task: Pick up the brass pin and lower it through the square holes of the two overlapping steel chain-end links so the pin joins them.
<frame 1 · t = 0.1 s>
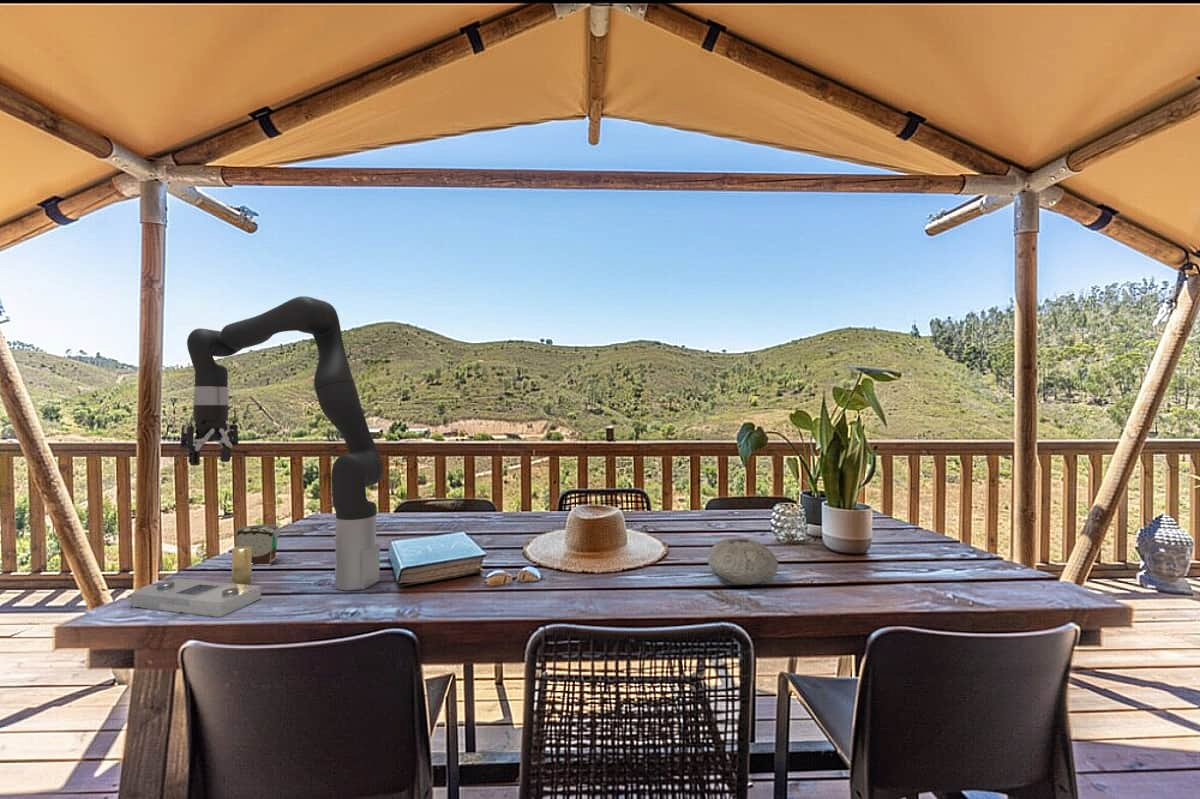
hand: (210, 463, 134), 29 cm above the table, tool pointing down, fingers open, 8 cm apart
brass pin: (241, 584, 125), on the table
food container: (262, 562, 142), on the table
chain ends: (197, 602, 113), on the table
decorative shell: (741, 580, 131), on the table
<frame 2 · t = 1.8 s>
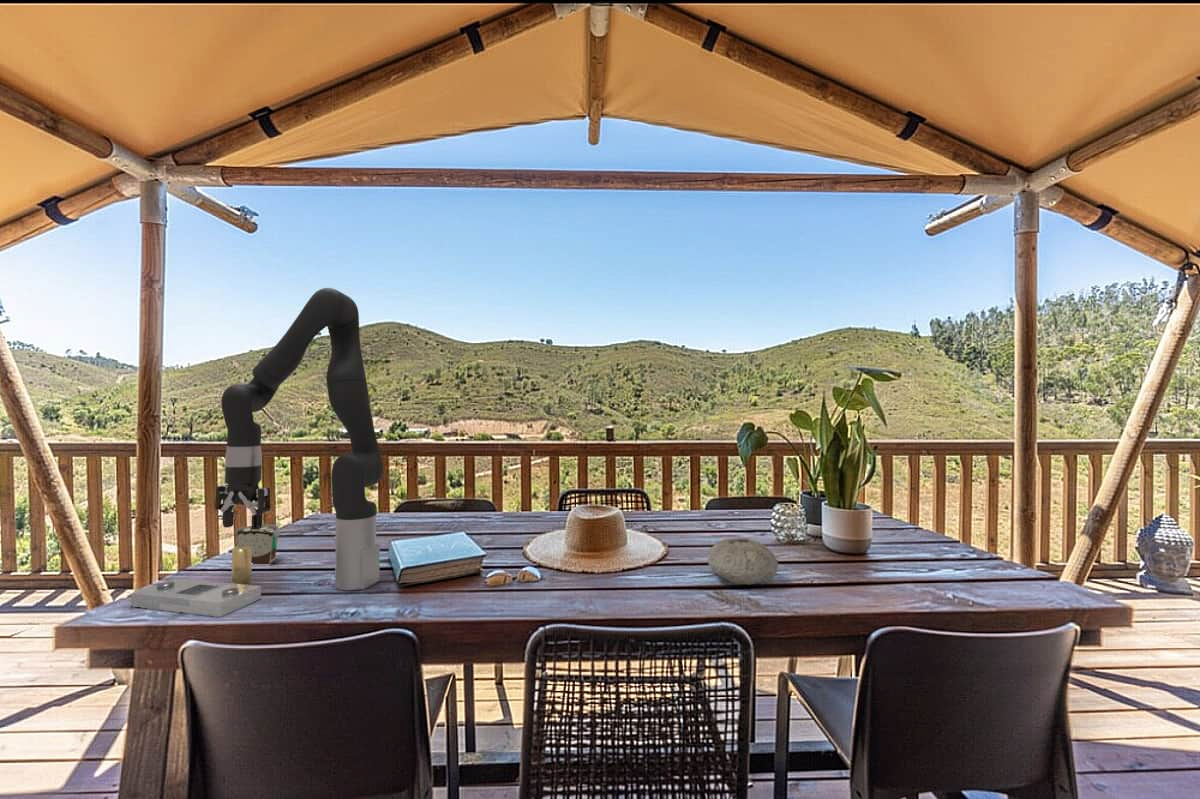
hand: (242, 528, 125), 14 cm above the table, tool pointing down, fingers open, 8 cm apart
nothing on the table moved.
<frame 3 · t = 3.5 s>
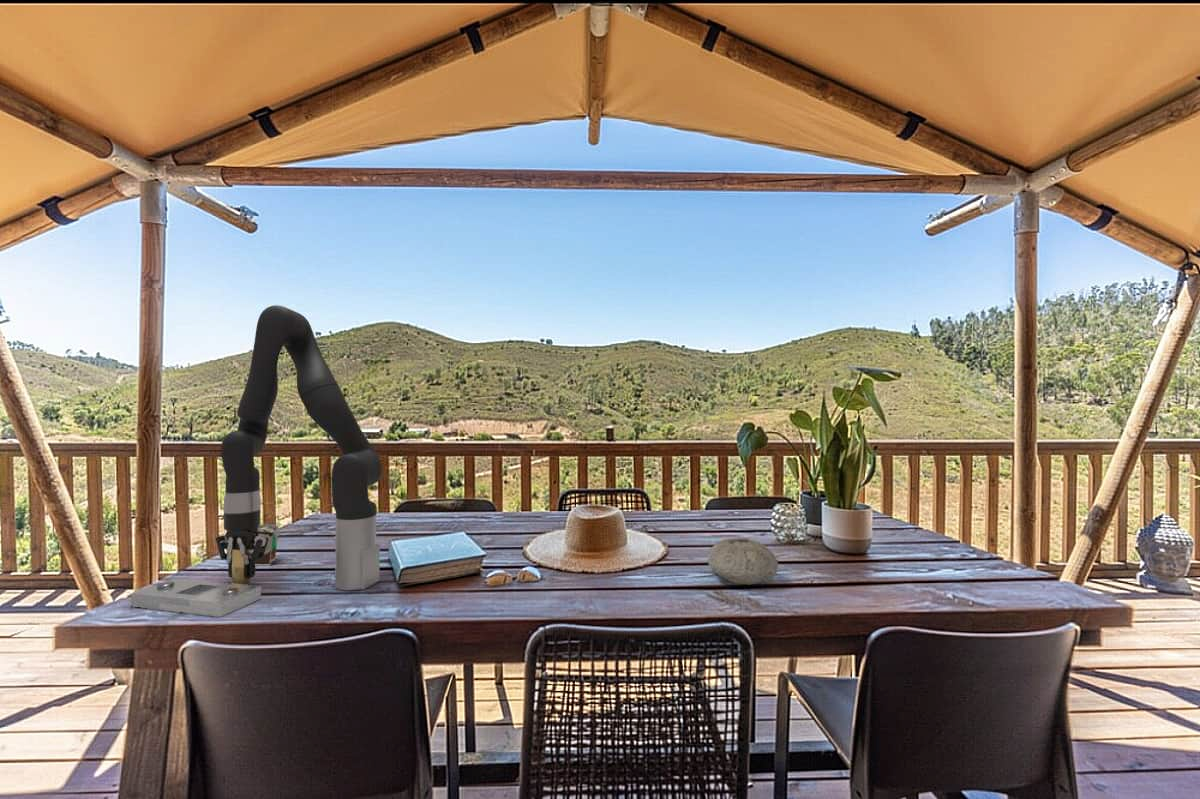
hand: (241, 576, 125), 2 cm above the table, tool pointing down, fingers closed on brass pin, 4 cm apart
brass pin: (241, 583, 125), on the table, touching gripper
everything else where it was.
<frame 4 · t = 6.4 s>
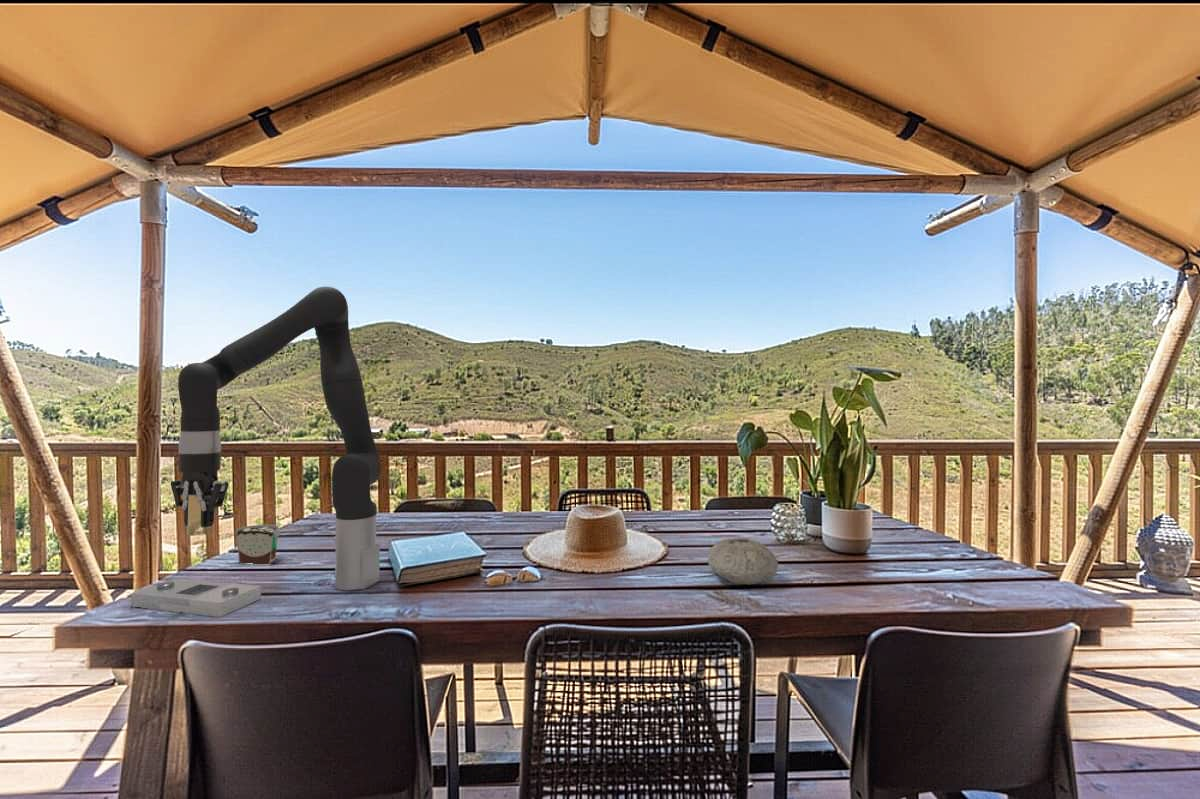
hand: (198, 525, 113), 18 cm above the table, tool pointing down, fingers closed on brass pin, 4 cm apart
brass pin: (198, 533, 113), point 16 cm above the table, touching gripper
everything else where it was.
when the fingers open (4 cm above the table, at t = 9.2 s): brass pin drops 2 cm, resting in chain ends.
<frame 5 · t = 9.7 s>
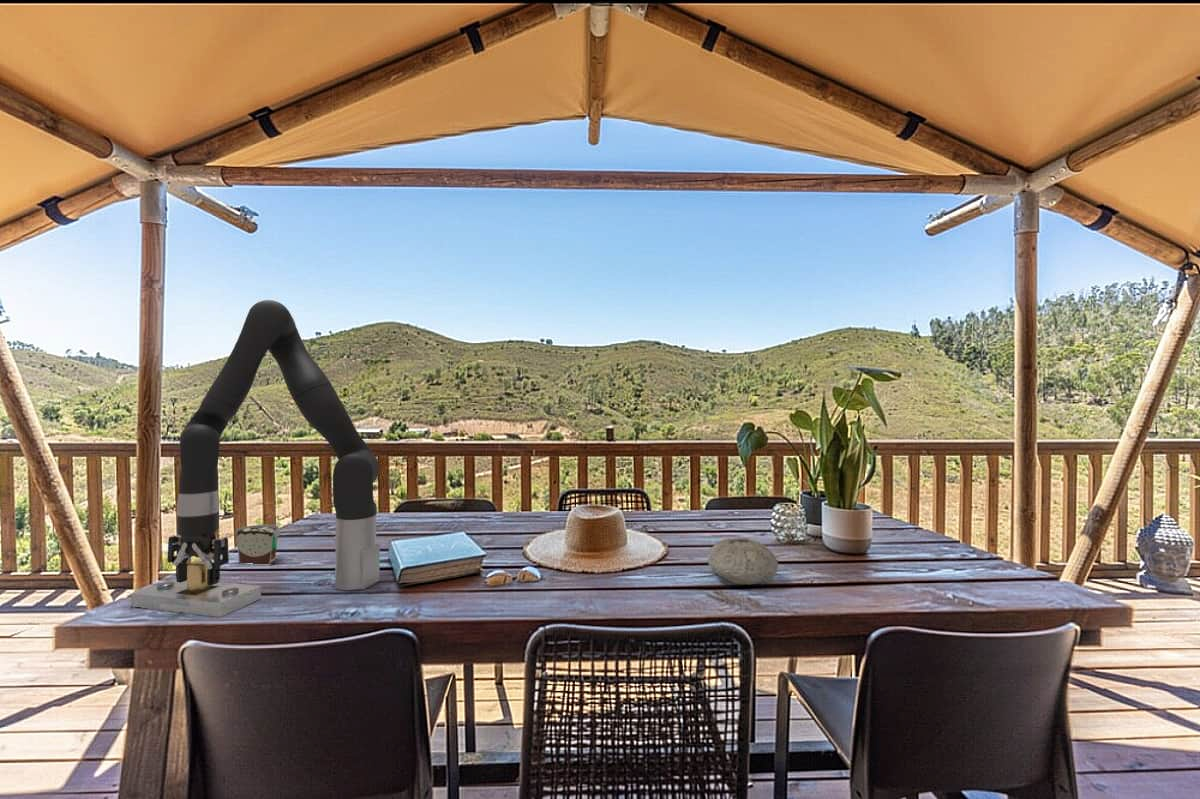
hand: (197, 582, 113), 5 cm above the table, tool pointing down, fingers open, 8 cm apart
brass pin: (197, 602, 113), resting in chain ends
everything else where it was.
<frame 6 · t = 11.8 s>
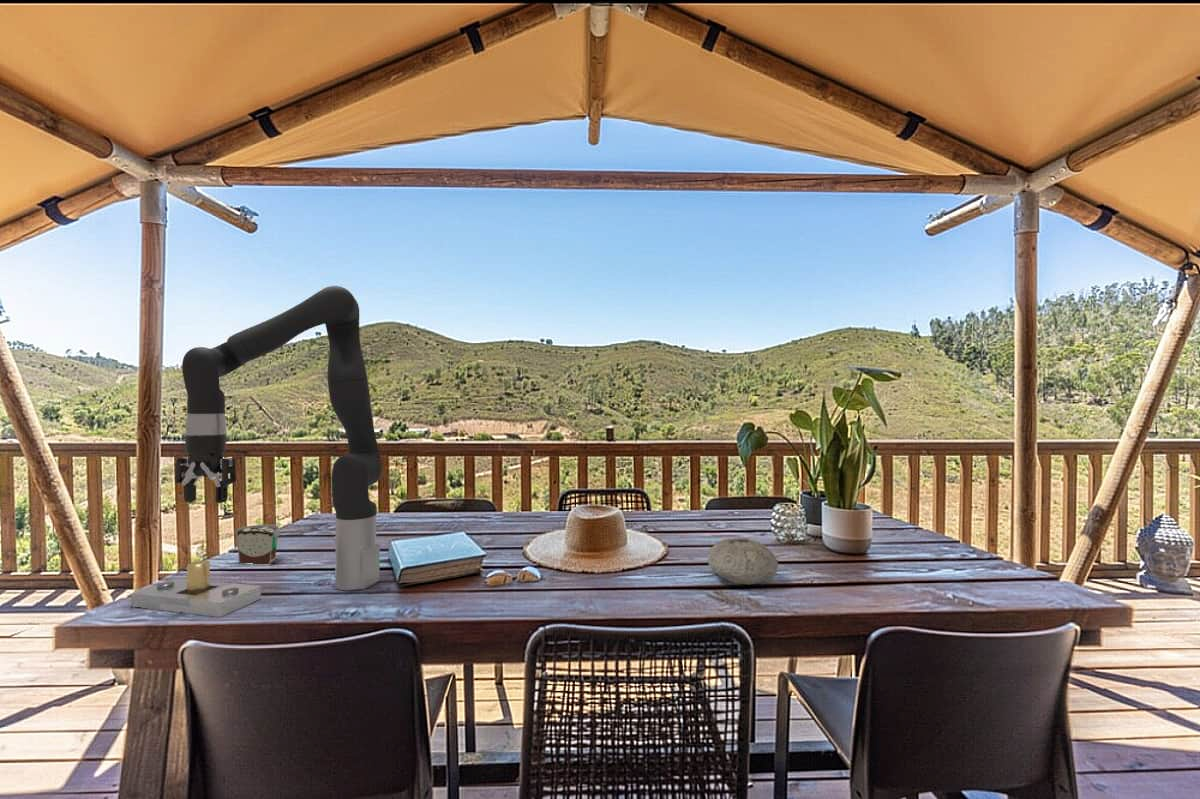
hand: (205, 501, 117), 22 cm above the table, tool pointing down, fingers open, 8 cm apart
nothing on the table moved.
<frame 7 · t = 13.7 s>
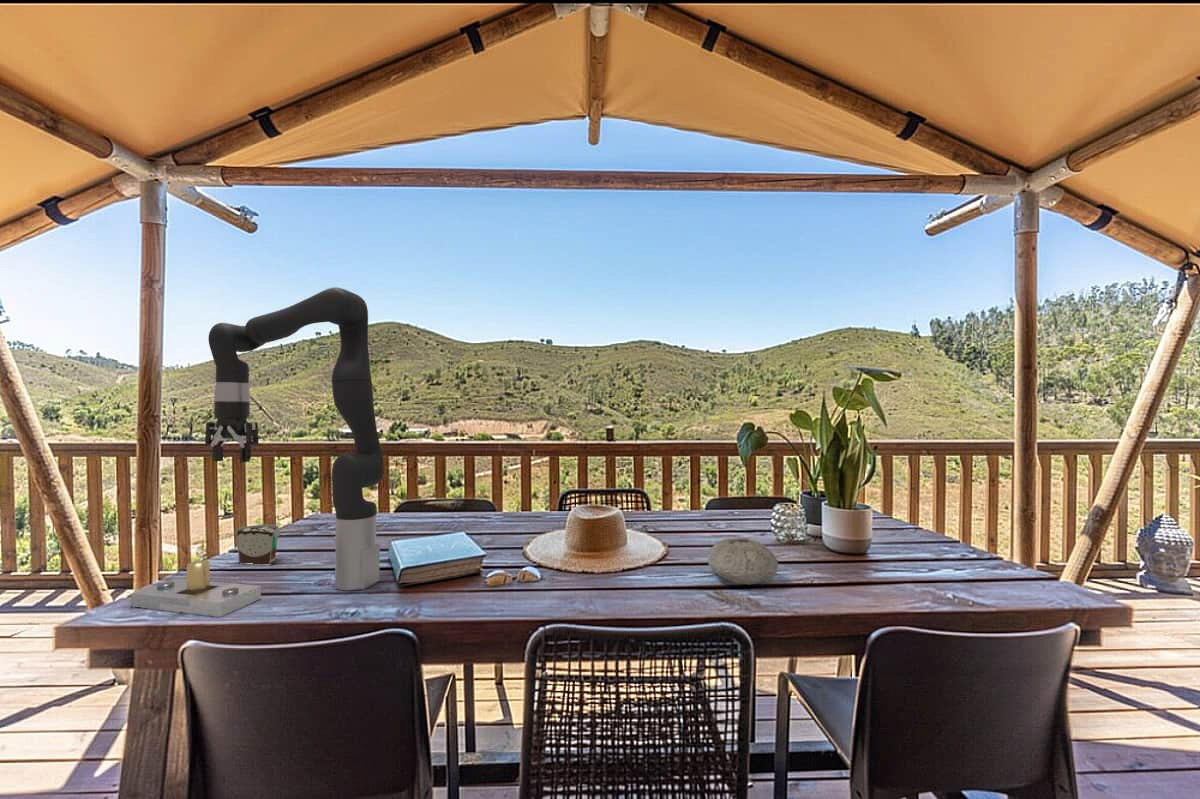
hand: (231, 461, 131), 30 cm above the table, tool pointing down, fingers open, 8 cm apart
nothing on the table moved.
at the end: brass pin 0.1 cm off-centre on the chain ends, point 0.0 cm above the chain ends's base; brass pin tilted 1°; the gripper is holding nothing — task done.
